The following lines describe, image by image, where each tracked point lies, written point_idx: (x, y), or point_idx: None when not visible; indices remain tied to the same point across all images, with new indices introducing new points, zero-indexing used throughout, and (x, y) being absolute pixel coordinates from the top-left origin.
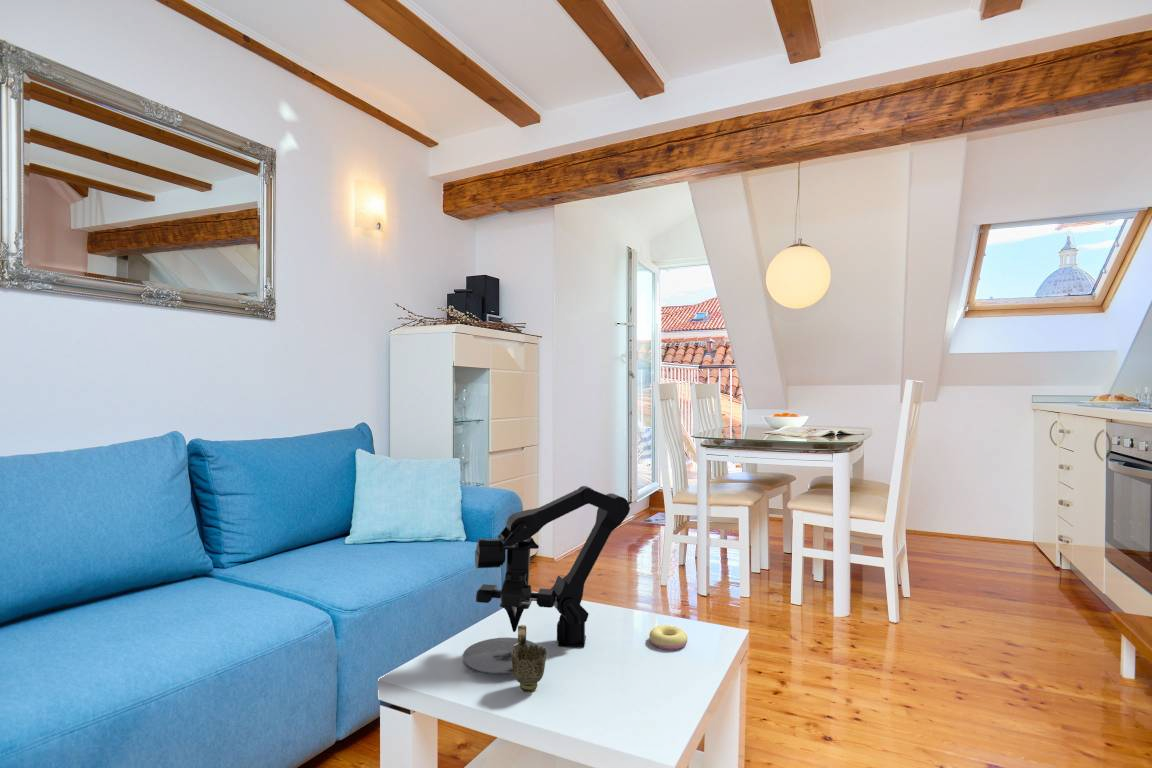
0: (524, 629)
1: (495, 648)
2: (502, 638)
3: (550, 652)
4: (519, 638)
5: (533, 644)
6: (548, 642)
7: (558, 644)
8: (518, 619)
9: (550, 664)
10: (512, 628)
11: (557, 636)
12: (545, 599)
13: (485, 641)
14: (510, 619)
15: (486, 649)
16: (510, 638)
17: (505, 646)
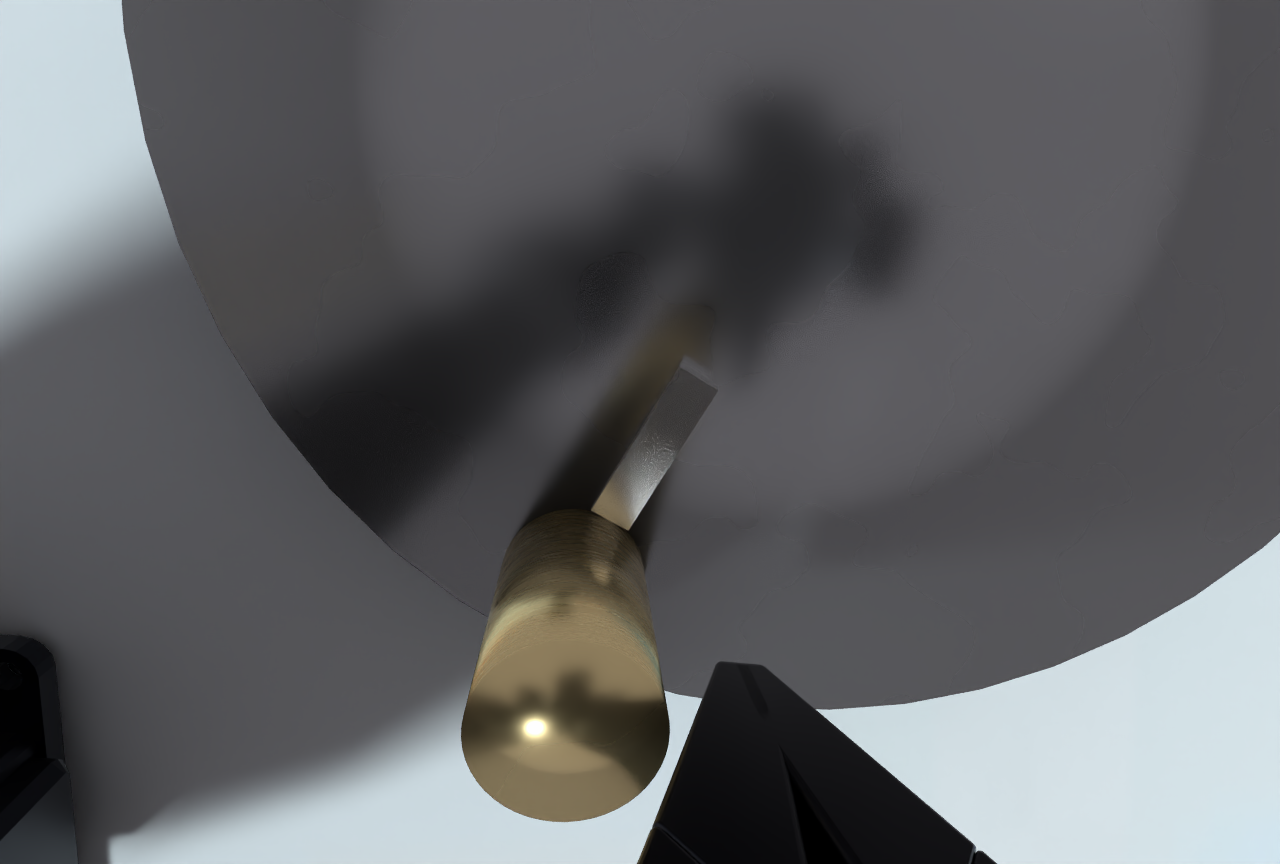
0: (503, 641)
1: (1018, 281)
2: (900, 676)
3: (141, 459)
4: (616, 549)
5: (353, 443)
6: (231, 774)
7: (26, 656)
8: (680, 831)
9: (53, 4)
10: (794, 697)
11: (9, 806)
12: None
13: (1168, 559)
14: (941, 838)
15: (1173, 238)
16: None
17: (847, 361)
